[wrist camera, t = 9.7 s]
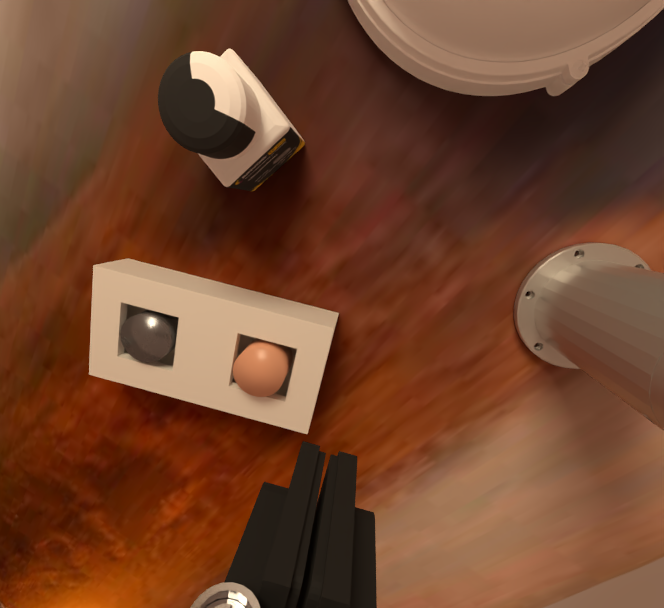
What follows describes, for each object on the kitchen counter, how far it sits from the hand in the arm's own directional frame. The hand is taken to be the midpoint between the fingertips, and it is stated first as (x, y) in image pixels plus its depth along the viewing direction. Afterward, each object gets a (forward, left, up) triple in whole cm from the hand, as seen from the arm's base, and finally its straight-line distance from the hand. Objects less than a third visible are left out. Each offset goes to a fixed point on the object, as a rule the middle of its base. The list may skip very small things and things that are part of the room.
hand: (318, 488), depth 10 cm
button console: (+13, +9, -27) cm, 31 cm away
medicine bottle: (+13, -12, -27) cm, 33 cm away
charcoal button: (+19, +9, -26) cm, 33 cm away
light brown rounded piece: (+7, +9, -25) cm, 27 cm away
